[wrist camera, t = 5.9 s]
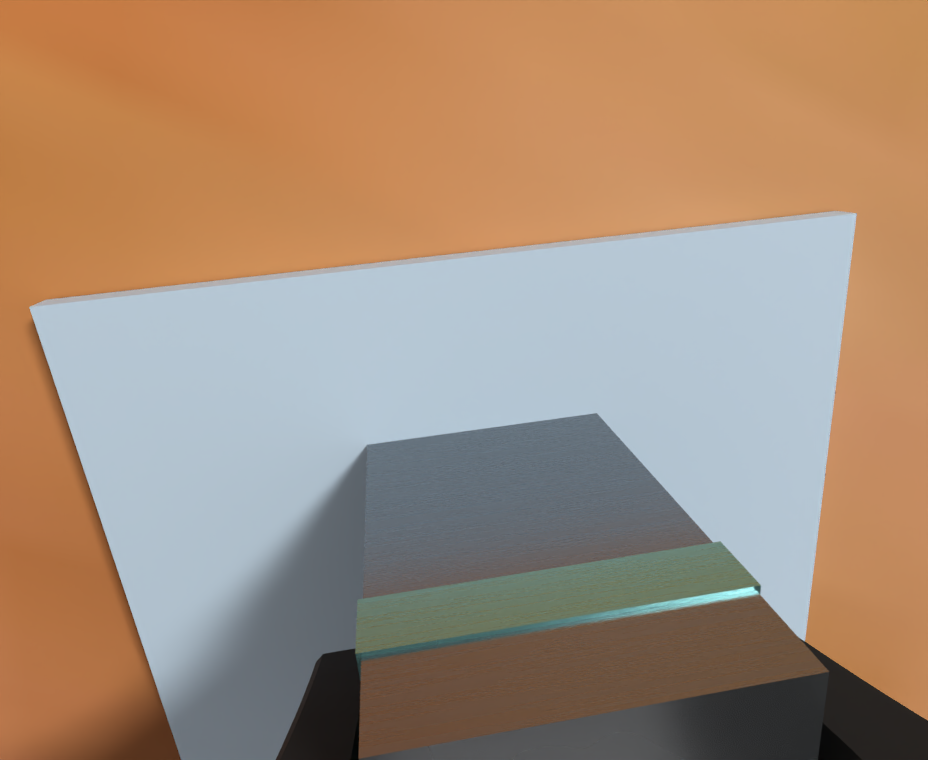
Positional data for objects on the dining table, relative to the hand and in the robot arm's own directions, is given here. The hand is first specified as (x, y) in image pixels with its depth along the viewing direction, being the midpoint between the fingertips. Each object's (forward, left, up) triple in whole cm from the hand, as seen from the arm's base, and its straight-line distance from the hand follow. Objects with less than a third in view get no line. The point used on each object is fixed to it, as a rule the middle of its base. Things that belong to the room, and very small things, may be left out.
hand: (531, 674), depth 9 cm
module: (0, 0, -3) cm, 3 cm away
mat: (0, 0, -3) cm, 3 cm away
